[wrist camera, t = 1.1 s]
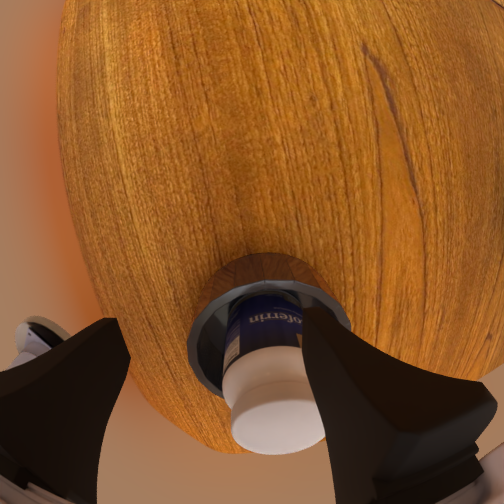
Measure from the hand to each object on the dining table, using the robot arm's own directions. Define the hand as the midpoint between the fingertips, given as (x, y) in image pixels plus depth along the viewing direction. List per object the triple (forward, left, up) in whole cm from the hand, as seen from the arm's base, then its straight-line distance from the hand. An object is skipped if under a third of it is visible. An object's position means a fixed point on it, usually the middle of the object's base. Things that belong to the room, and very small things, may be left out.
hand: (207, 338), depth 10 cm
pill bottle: (-2, -5, -9) cm, 11 cm away
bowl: (-2, -5, -9) cm, 11 cm away
